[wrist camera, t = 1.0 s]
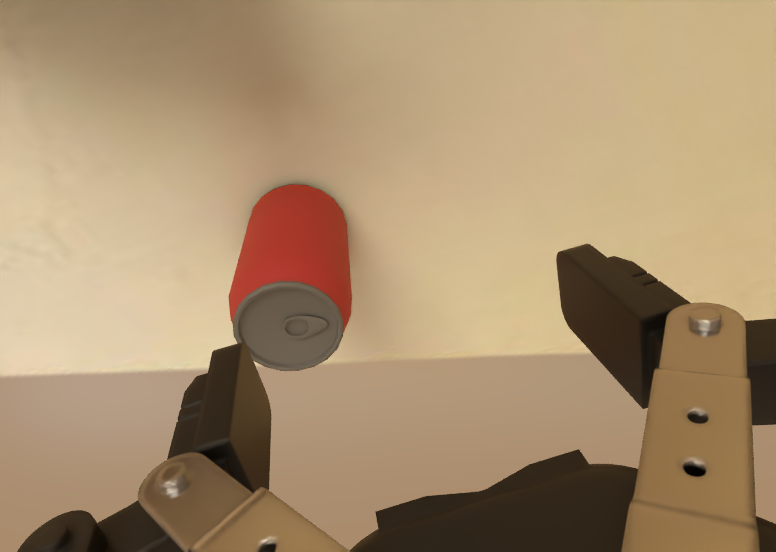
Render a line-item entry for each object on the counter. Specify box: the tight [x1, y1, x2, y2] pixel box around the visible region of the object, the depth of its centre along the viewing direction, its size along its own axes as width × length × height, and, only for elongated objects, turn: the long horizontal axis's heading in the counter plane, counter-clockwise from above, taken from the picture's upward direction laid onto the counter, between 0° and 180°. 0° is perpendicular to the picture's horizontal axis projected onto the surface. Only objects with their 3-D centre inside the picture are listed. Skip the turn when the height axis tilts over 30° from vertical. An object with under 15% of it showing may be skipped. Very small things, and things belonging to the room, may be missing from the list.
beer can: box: [229, 185, 352, 371], centre depth 34 cm, size 7×7×12 cm
